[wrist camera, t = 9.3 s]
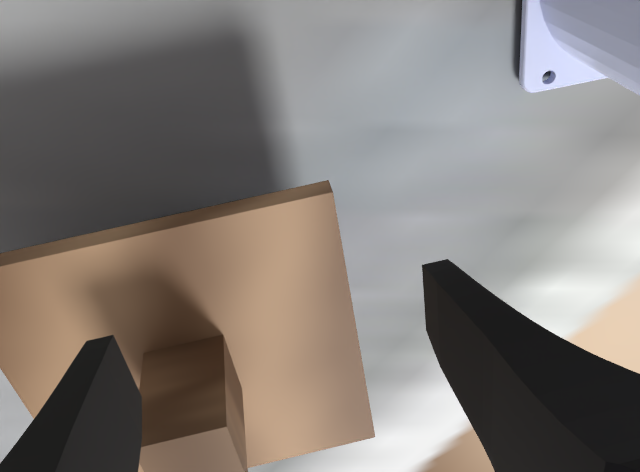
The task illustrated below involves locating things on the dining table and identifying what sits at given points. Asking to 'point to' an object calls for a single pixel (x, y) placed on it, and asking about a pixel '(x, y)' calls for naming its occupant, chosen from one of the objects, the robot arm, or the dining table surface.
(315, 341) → the lid
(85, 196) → the dining table surface
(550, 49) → the robot arm
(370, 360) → the dining table surface
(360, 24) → the dining table surface
